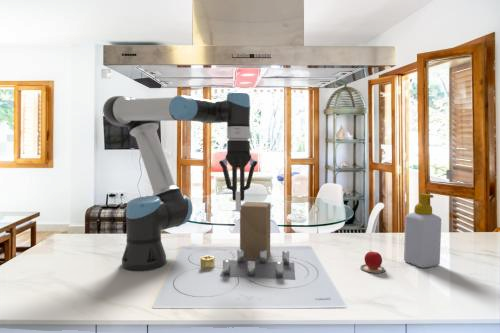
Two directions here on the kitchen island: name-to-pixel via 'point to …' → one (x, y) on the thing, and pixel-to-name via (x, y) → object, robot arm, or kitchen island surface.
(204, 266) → the nut
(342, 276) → the kitchen island surface
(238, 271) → the grey flat plate
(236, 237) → the kitchen island surface
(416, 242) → the soap bottle
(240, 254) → the set of silver pegs
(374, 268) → the apple
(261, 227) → the wooden block
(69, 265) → the kitchen island surface
